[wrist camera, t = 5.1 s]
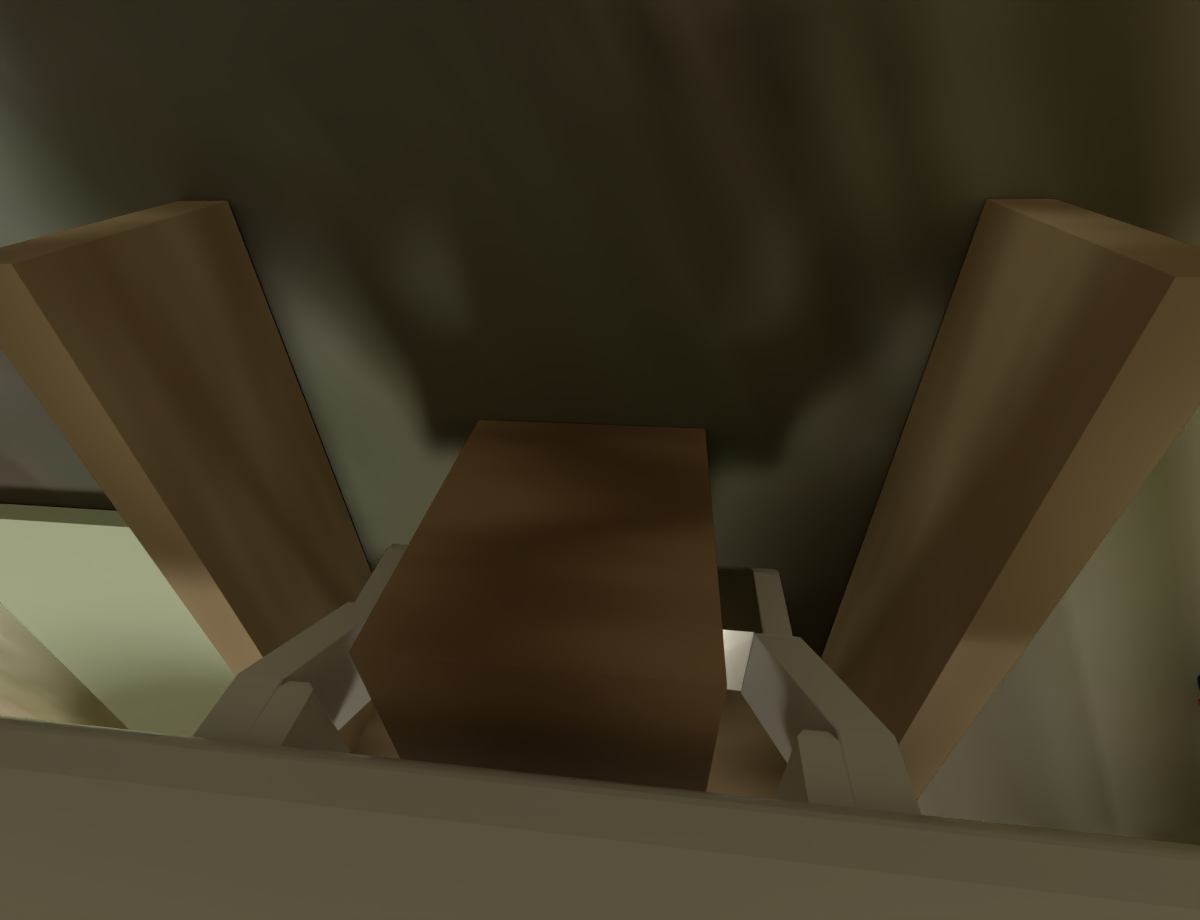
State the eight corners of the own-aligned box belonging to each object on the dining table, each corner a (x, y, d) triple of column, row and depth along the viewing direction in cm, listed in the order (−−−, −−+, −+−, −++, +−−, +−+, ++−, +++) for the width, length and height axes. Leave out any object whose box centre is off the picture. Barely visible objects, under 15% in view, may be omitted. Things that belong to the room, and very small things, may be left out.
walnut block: (705, 428, 12) (727, 685, 7) (688, 586, 15) (695, 844, 10) (478, 419, 12) (349, 651, 7) (506, 573, 15) (426, 813, 10)
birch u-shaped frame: (1054, 198, 8) (1289, 277, 5) (837, 706, 17) (876, 857, 14) (177, 200, 10) (-59, 263, 7) (380, 665, 18) (317, 792, 15)
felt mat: (283, 521, 15) (270, 536, 14) (403, 768, 23) (397, 783, 22) (-67, 499, 16) (-90, 513, 15) (166, 742, 24) (156, 756, 24)
